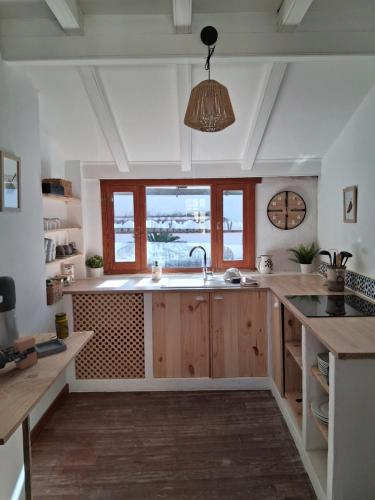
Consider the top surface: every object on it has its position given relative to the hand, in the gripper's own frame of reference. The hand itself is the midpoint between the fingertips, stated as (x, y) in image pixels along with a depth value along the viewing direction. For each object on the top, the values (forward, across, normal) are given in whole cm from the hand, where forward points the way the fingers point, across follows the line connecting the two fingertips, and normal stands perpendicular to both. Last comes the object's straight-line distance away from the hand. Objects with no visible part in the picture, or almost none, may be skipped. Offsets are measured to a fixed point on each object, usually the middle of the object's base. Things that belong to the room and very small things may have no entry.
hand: (31, 348), depth 155 cm
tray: (+12, +6, +6) cm, 15 cm away
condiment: (+23, +16, +6) cm, 29 cm away
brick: (-3, 0, +6) cm, 7 cm away
